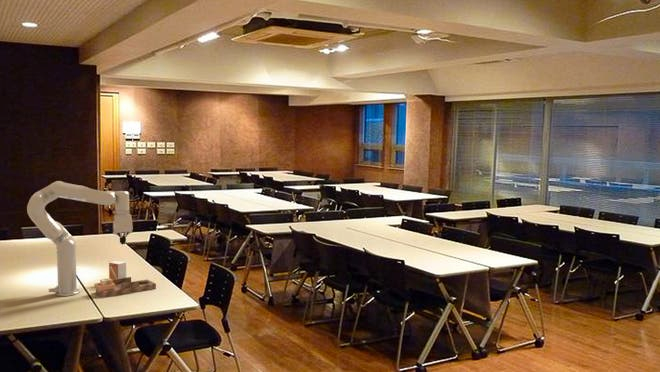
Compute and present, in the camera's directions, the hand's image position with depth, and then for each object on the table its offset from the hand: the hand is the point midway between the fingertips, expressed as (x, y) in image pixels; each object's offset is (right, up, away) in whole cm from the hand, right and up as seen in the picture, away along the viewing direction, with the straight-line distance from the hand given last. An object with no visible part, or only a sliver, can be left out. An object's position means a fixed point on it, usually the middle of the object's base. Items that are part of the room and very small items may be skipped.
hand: (122, 243), depth 329 cm
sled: (-6, -24, -11) cm, 27 cm away
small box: (-8, -26, +13) cm, 30 cm away
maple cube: (-5, -24, -10) cm, 27 cm away
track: (+3, -27, -3) cm, 27 cm away
